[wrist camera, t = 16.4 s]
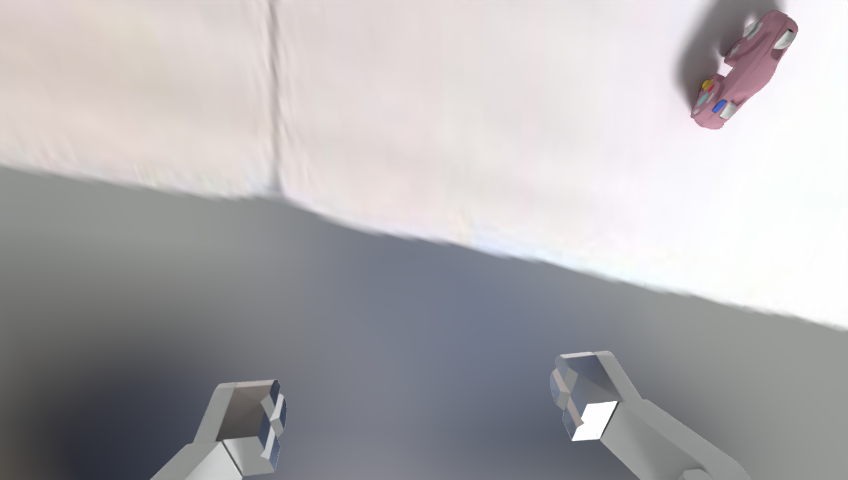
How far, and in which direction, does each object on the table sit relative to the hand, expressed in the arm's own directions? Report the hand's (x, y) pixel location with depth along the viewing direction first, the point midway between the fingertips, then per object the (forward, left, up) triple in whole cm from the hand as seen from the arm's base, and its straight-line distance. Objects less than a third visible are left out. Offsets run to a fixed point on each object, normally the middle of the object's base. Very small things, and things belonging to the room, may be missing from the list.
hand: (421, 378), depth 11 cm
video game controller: (+31, -8, -29) cm, 43 cm away
